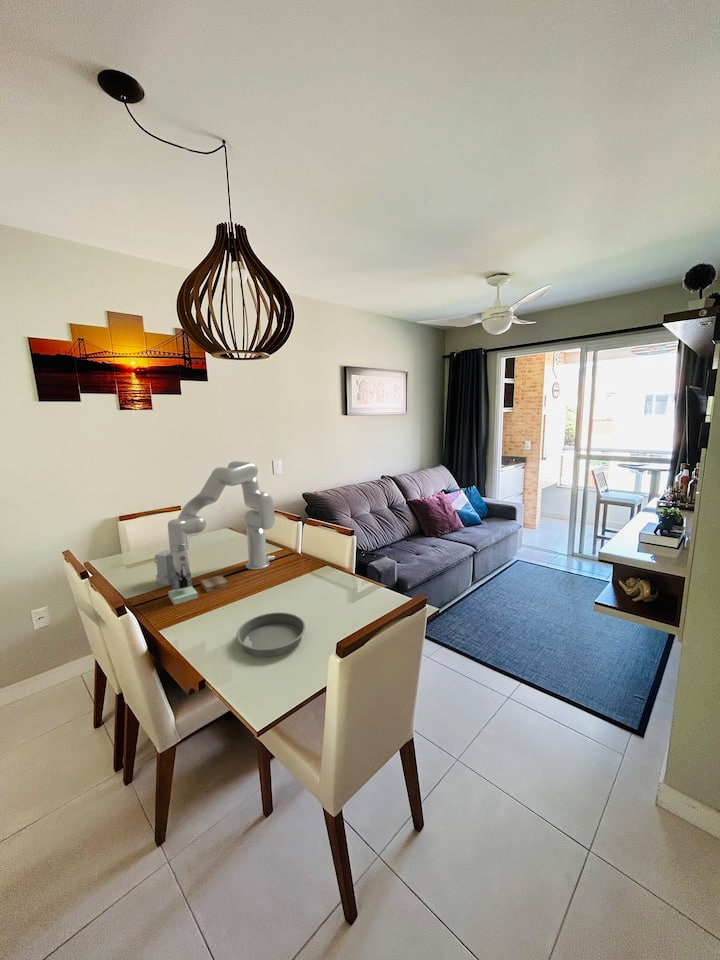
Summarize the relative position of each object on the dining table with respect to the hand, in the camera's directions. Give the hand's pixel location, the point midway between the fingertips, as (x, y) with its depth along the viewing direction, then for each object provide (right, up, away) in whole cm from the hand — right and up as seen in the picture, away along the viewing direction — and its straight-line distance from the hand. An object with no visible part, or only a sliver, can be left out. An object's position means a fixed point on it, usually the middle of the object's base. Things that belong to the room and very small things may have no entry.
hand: (182, 584), depth 172 cm
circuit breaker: (-12, -3, +17) cm, 21 cm away
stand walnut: (+10, -4, +13) cm, 16 cm away
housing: (0, -1, 0) cm, 1 cm away
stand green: (0, -6, +1) cm, 6 cm away
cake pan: (+48, -12, -32) cm, 59 cm away
